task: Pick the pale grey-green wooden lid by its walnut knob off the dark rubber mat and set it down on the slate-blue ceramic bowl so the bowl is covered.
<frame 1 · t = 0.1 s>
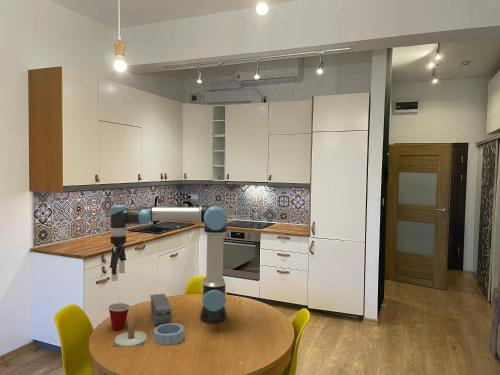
hand: (118, 276, 188), 28 cm above the table, fingers open, 13 cm apart
bowl: (168, 339, 181), on the table
plastic cup: (119, 329, 192), on the table
lid: (131, 339, 179), resting on mat
mat: (131, 340, 179), on the table
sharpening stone: (160, 321, 203), on the table
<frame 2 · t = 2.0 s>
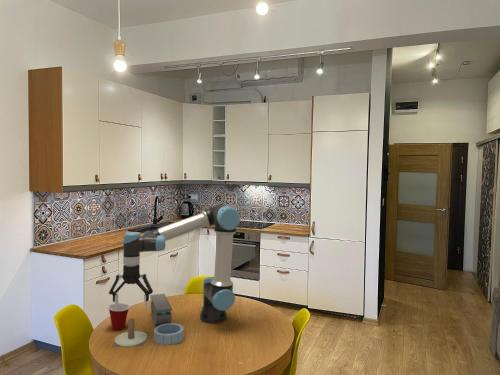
hand: (130, 308, 178), 16 cm above the table, fingers open, 13 cm apart
nothing on the table moved.
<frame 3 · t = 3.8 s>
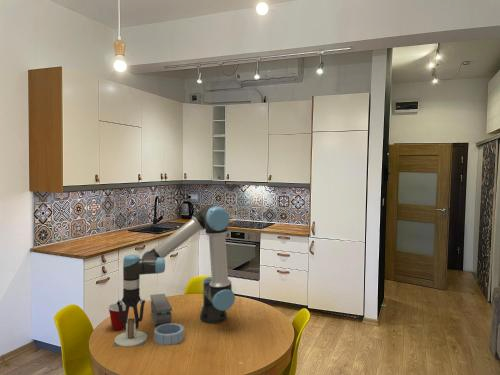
hand: (131, 335, 179), 3 cm above the table, fingers closed on lid, 3 cm apart
lid: (131, 339, 179), point 1 cm above the table, touching gripper, mat
everything else where it was.
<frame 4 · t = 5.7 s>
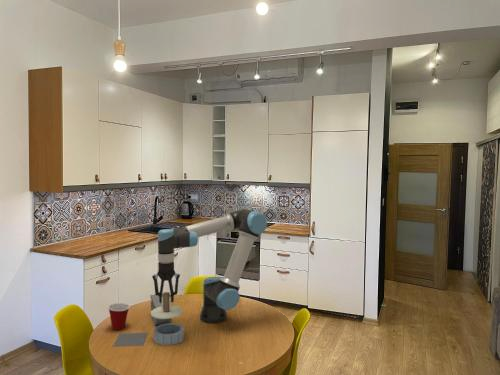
hand: (166, 308, 180), 15 cm above the table, fingers closed on lid, 3 cm apart
lid: (166, 312, 180), point 13 cm above the table, touching gripper
everything else where it was.
when the fingers open (8 cm above the table, at t = 7.4 s): lid drops 1 cm, resting on bowl.
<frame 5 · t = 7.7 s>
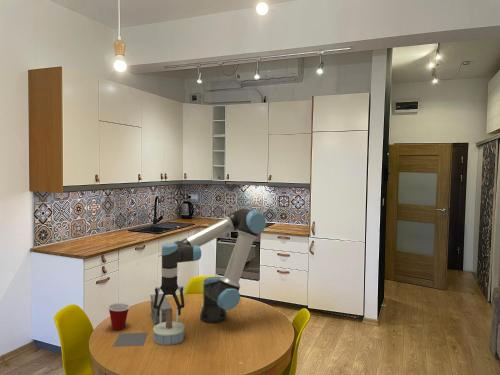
hand: (169, 321, 180), 9 cm above the table, fingers open, 7 cm apart
lid: (169, 329, 180), point 5 cm above the table, touching bowl
everything else where it was.
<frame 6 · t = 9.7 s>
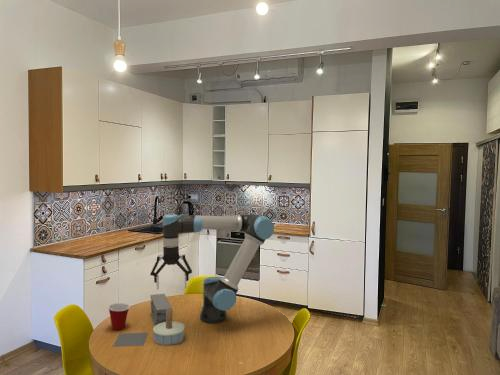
hand: (171, 288, 184), 24 cm above the table, fingers open, 13 cm apart
nothing on the table moved.
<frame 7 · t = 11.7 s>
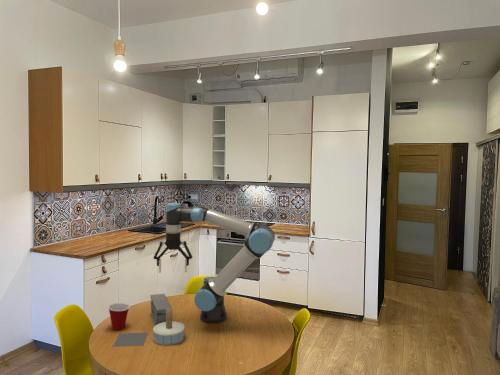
hand: (172, 271, 196), 29 cm above the table, fingers open, 13 cm apart
nothing on the table moved.
at the end: lid 0.0 cm off-centre on the bowl, point 5.0 cm above the bowl's base; lid tilted 0°; the gripper is holding nothing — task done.
